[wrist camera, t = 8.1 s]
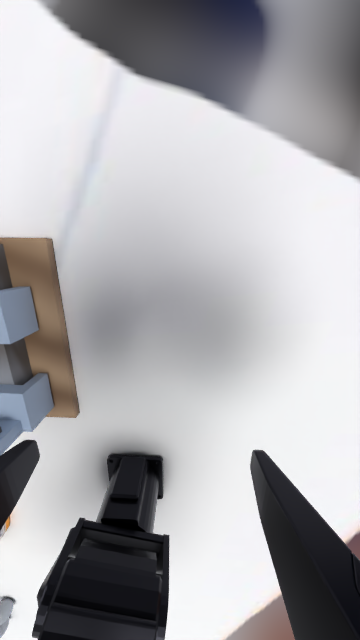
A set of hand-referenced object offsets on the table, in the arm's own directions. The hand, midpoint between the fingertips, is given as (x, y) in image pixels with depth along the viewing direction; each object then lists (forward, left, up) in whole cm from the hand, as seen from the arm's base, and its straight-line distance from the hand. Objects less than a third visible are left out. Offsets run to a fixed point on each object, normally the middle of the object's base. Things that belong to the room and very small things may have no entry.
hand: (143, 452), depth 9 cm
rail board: (0, +15, -12) cm, 19 cm away
